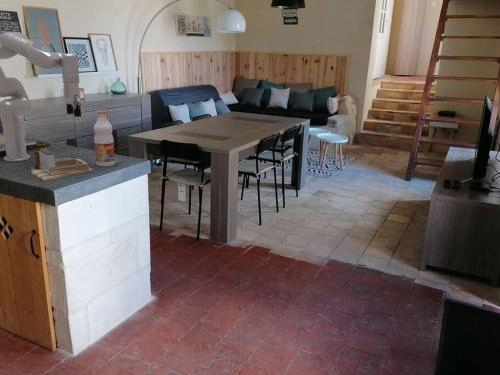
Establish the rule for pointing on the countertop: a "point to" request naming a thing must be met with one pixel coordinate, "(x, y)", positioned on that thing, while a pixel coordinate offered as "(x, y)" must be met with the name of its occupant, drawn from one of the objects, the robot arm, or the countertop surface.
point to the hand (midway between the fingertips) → (74, 115)
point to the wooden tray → (64, 169)
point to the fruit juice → (103, 141)
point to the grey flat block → (47, 160)
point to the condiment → (37, 156)
